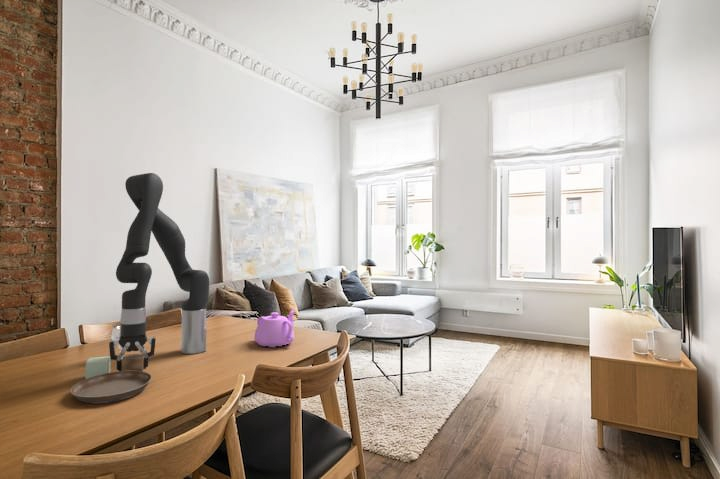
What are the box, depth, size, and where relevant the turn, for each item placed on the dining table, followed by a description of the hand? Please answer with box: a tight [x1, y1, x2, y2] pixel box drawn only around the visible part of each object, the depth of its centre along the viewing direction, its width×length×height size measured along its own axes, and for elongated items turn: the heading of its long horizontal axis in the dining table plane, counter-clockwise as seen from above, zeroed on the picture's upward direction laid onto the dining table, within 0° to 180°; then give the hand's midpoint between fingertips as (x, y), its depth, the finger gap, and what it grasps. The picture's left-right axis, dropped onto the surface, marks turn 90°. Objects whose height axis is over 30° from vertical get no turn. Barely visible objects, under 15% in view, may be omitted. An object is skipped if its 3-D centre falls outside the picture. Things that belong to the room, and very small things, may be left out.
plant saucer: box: [70, 370, 153, 404], centre depth 120 cm, size 21×21×3 cm
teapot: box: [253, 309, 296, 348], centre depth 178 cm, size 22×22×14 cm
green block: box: [85, 355, 111, 379], centre depth 132 cm, size 6×6×6 cm
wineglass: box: [110, 325, 123, 359], centre depth 152 cm, size 6×6×12 cm
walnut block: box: [122, 352, 144, 372], centre depth 136 cm, size 6×6×6 cm
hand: (132, 369), depth 136 cm, fingers open, 6 cm apart
